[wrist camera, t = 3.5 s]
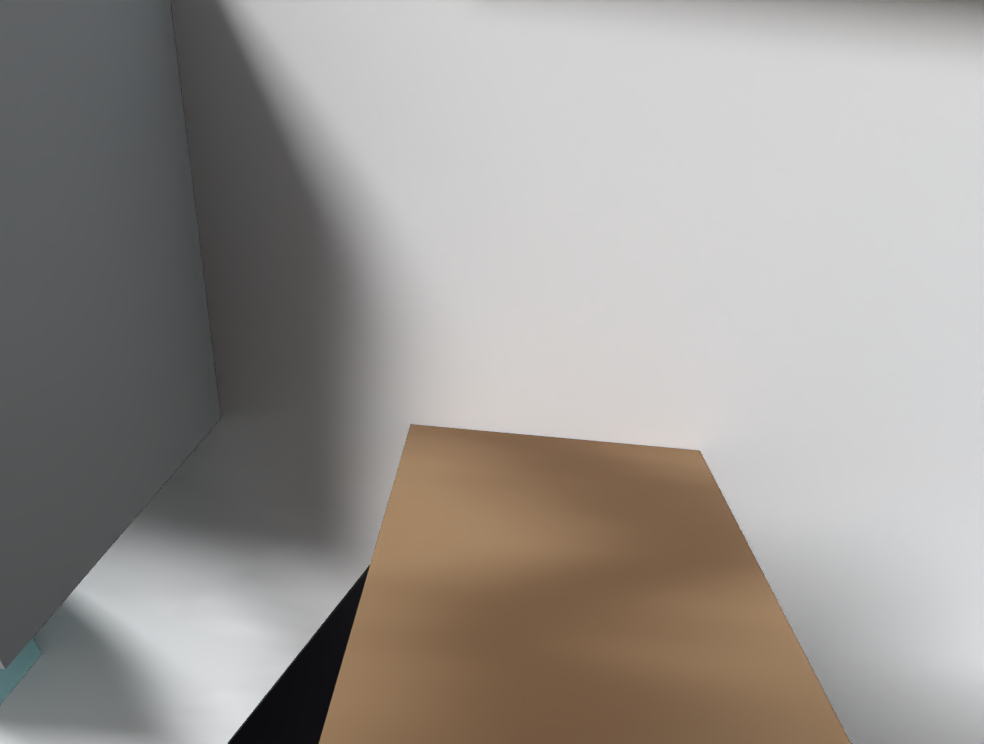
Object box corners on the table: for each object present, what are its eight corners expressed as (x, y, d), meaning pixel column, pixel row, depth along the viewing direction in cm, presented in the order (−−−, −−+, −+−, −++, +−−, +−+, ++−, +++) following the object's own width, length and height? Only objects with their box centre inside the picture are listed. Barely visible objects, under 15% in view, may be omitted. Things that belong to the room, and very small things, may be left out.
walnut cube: (699, 450, 9) (887, 814, 4) (633, 627, 11) (711, 970, 7) (410, 424, 9) (312, 769, 4) (408, 608, 11) (343, 945, 7)
